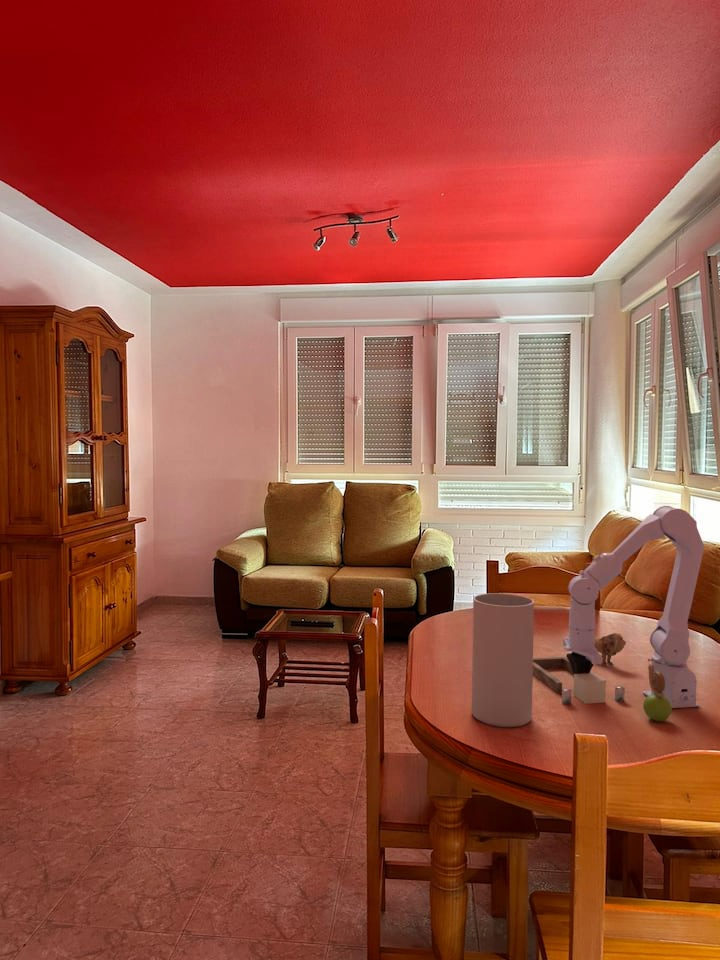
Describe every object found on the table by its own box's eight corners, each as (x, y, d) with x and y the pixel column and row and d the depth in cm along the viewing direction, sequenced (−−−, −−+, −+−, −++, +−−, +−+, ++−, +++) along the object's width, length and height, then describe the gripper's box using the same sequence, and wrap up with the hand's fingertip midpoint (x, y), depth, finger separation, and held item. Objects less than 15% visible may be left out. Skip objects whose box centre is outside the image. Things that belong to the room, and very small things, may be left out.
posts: (626, 701, 144) (626, 688, 144) (564, 705, 142) (564, 691, 142) (621, 698, 146) (621, 685, 146) (560, 701, 144) (560, 688, 144)
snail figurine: (660, 713, 138) (662, 658, 138) (676, 725, 132) (678, 668, 131) (636, 713, 138) (637, 658, 137) (650, 725, 131) (652, 668, 131)
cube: (605, 702, 144) (605, 680, 144) (585, 703, 143) (585, 681, 143) (593, 694, 149) (593, 673, 149) (573, 695, 148) (574, 674, 148)
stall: (602, 690, 151) (602, 680, 151) (557, 693, 149) (557, 682, 149) (564, 666, 169) (565, 656, 169) (524, 668, 167) (524, 658, 167)
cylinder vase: (459, 715, 135) (461, 599, 135) (492, 700, 144) (494, 591, 143) (510, 734, 126) (513, 609, 126) (542, 717, 135) (545, 600, 134)
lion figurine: (628, 667, 169) (629, 633, 169) (616, 670, 166) (617, 636, 166) (581, 653, 181) (582, 621, 181) (569, 656, 178) (570, 624, 178)
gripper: (551, 620, 156) (550, 675, 156) (581, 637, 142) (580, 697, 142) (578, 619, 157) (577, 674, 157) (610, 636, 143) (609, 695, 143)
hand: (580, 685), depth 150 cm, fingers closed
